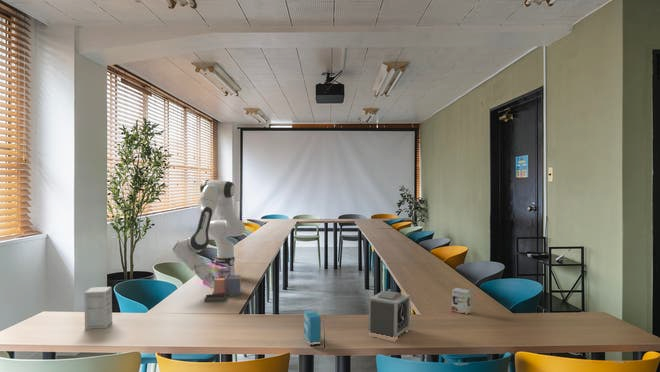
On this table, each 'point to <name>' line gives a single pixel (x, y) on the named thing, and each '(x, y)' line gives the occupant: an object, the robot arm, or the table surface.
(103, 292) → the supplement box
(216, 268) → the gum box
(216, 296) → the tray
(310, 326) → the data package
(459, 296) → the ink box
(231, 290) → the dispenser
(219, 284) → the salmon pink tall block
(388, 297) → the alarm clock
